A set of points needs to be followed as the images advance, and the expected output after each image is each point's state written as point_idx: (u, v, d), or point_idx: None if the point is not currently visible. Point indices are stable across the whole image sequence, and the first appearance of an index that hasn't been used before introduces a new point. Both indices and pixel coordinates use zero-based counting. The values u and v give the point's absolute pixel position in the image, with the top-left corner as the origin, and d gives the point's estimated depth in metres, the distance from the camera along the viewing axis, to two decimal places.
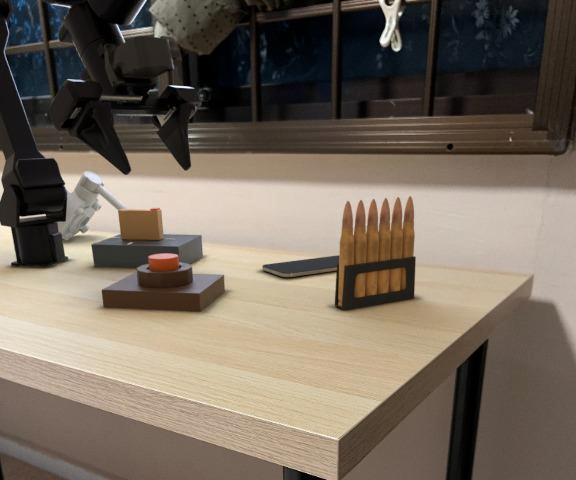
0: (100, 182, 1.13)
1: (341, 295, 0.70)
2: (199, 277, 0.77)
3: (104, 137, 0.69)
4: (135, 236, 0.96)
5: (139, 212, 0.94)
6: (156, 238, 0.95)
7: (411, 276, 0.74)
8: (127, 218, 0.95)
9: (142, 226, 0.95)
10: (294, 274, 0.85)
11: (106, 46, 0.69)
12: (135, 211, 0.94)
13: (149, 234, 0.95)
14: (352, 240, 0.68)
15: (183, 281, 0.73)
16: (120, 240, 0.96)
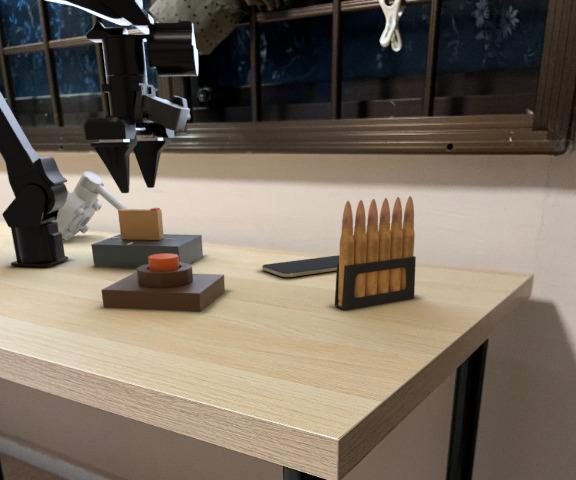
0: (100, 182, 1.13)
1: (341, 295, 0.70)
2: (199, 277, 0.77)
3: (119, 161, 0.87)
4: (135, 236, 0.96)
5: (139, 212, 0.94)
6: (156, 238, 0.95)
7: (411, 276, 0.74)
8: (127, 218, 0.95)
9: (142, 226, 0.95)
10: (294, 274, 0.85)
11: (141, 88, 0.86)
12: (135, 211, 0.94)
13: (149, 234, 0.95)
14: (352, 240, 0.68)
15: (183, 281, 0.73)
16: (120, 240, 0.96)
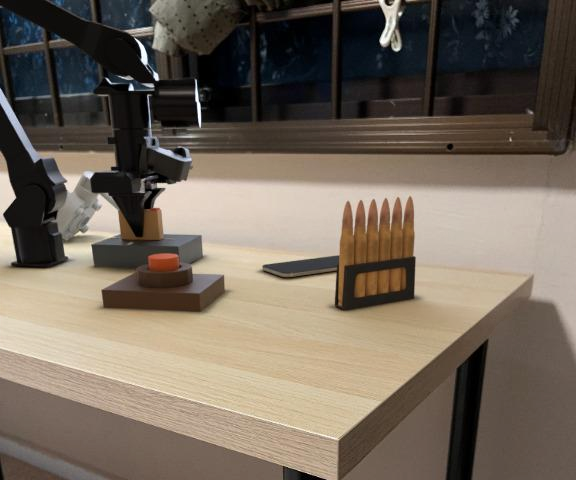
0: None
1: (341, 295, 0.70)
2: (199, 277, 0.77)
3: (134, 209, 0.93)
4: (135, 236, 0.96)
5: None
6: (156, 238, 0.95)
7: (411, 276, 0.74)
8: None
9: None
10: (294, 274, 0.85)
11: (146, 141, 0.89)
12: None
13: (149, 234, 0.95)
14: (352, 240, 0.68)
15: (183, 281, 0.73)
16: (120, 240, 0.96)
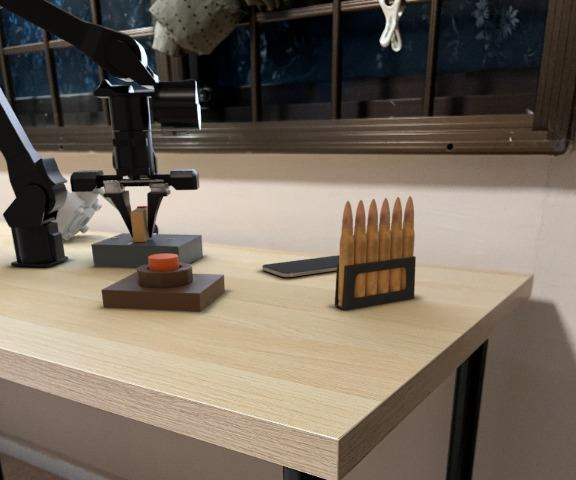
0: None
1: (341, 295, 0.70)
2: (199, 277, 0.77)
3: None
4: (147, 236, 0.96)
5: (145, 211, 0.95)
6: None
7: (411, 276, 0.74)
8: (144, 219, 0.94)
9: (147, 225, 0.96)
10: (294, 274, 0.85)
11: None
12: (145, 210, 0.95)
13: None
14: (352, 240, 0.68)
15: (183, 281, 0.73)
16: (120, 240, 0.96)
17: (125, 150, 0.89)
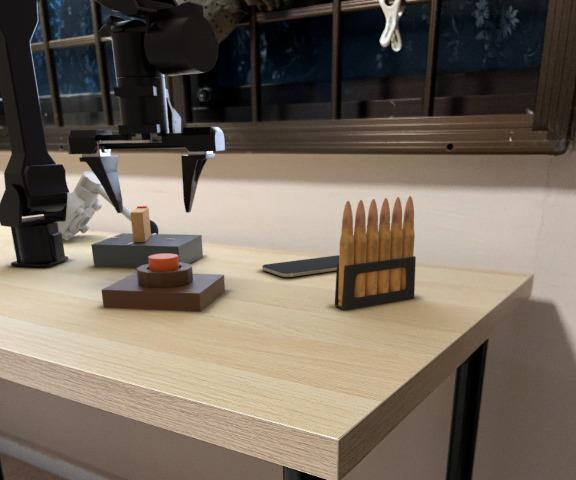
0: None
1: (341, 295, 0.70)
2: (199, 277, 0.77)
3: (194, 176, 0.77)
4: (147, 236, 0.96)
5: (145, 211, 0.95)
6: (150, 234, 0.99)
7: (411, 276, 0.74)
8: (144, 219, 0.94)
9: (147, 225, 0.96)
10: (294, 274, 0.85)
11: None
12: (145, 210, 0.95)
13: (149, 231, 0.98)
14: (352, 240, 0.68)
15: (183, 281, 0.73)
16: (120, 240, 0.96)
17: (128, 102, 0.72)
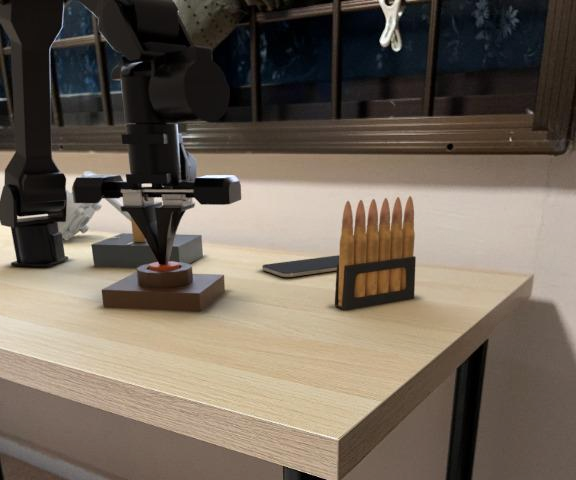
0: None
1: (341, 295, 0.70)
2: (199, 277, 0.77)
3: (172, 227, 0.72)
4: None
5: None
6: None
7: (411, 276, 0.74)
8: None
9: None
10: (294, 274, 0.85)
11: None
12: None
13: None
14: (352, 240, 0.68)
15: (183, 281, 0.73)
16: (120, 240, 0.96)
17: (137, 150, 0.67)
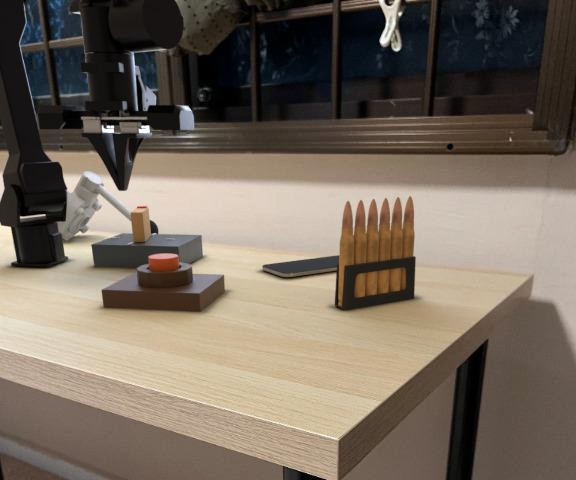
0: (100, 182, 1.13)
1: (341, 295, 0.70)
2: (199, 277, 0.77)
3: (130, 154, 0.78)
4: (147, 236, 0.96)
5: (145, 211, 0.95)
6: (150, 234, 0.99)
7: (411, 276, 0.74)
8: (144, 219, 0.94)
9: (147, 225, 0.96)
10: (294, 274, 0.85)
11: None
12: (145, 210, 0.95)
13: (149, 231, 0.98)
14: (352, 240, 0.68)
15: (183, 281, 0.73)
16: (120, 240, 0.96)
17: (95, 78, 0.72)
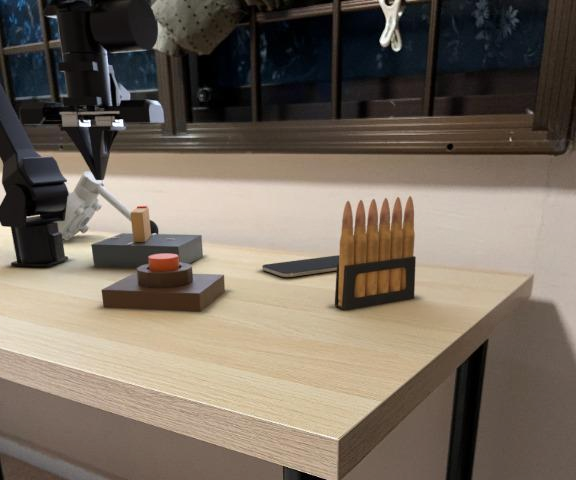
0: (100, 182, 1.13)
1: (341, 295, 0.70)
2: (199, 277, 0.77)
3: (105, 146, 0.84)
4: (147, 236, 0.96)
5: (145, 211, 0.95)
6: (150, 234, 0.99)
7: (411, 276, 0.74)
8: (144, 219, 0.94)
9: (147, 225, 0.96)
10: (294, 274, 0.85)
11: None
12: (145, 210, 0.95)
13: (149, 231, 0.98)
14: (352, 240, 0.68)
15: (183, 281, 0.73)
16: (120, 240, 0.96)
17: (71, 76, 0.79)
